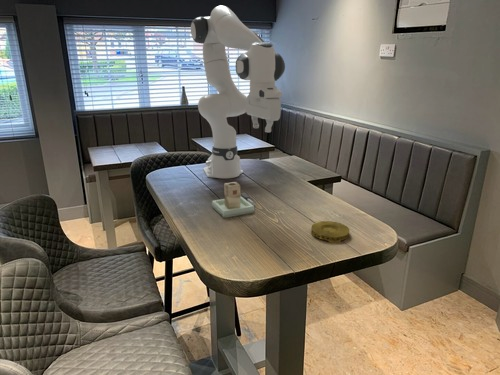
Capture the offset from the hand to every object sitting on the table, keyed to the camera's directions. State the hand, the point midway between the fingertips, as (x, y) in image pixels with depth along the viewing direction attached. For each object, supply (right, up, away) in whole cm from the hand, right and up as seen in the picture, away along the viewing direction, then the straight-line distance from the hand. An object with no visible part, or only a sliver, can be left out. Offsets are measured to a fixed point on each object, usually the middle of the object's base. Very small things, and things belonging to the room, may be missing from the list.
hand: (261, 130), depth 137 cm
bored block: (-11, -28, +4) cm, 31 cm away
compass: (+22, -36, -15) cm, 45 cm away
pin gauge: (-5, -26, +13) cm, 30 cm away
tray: (-11, -29, +4) cm, 31 cm away
